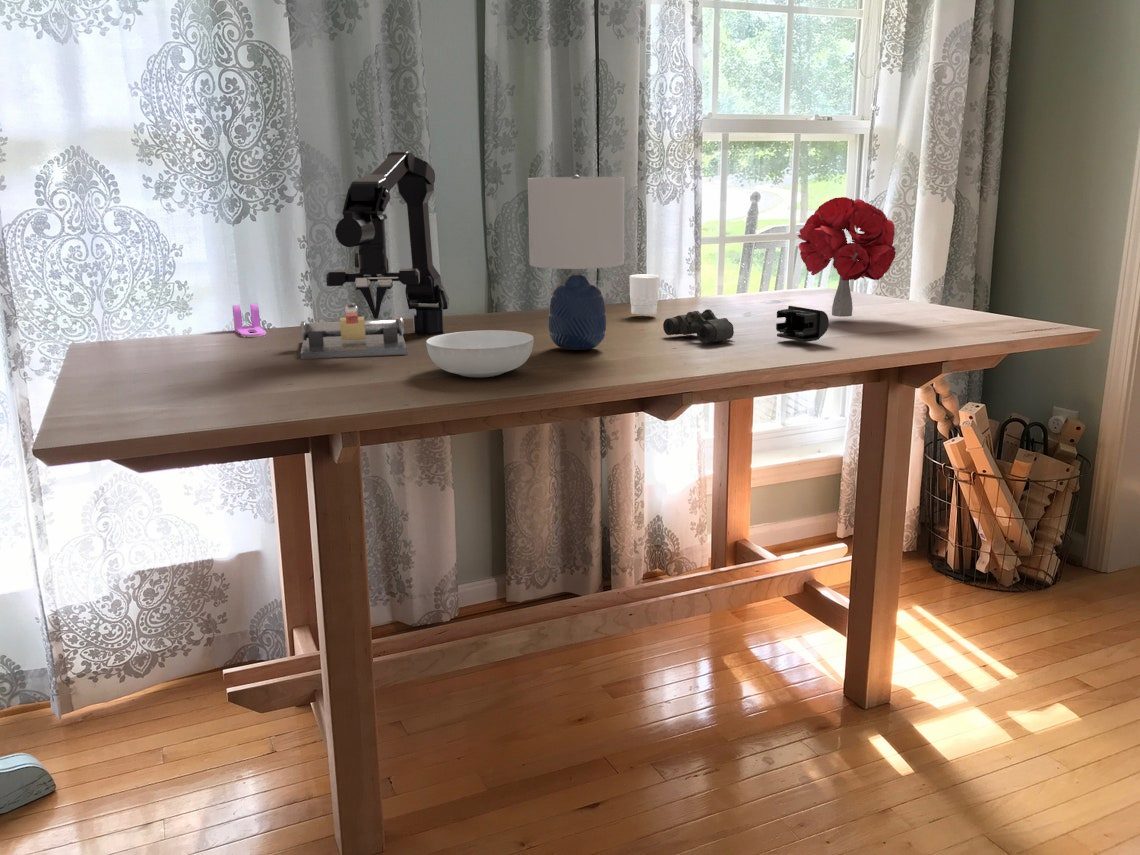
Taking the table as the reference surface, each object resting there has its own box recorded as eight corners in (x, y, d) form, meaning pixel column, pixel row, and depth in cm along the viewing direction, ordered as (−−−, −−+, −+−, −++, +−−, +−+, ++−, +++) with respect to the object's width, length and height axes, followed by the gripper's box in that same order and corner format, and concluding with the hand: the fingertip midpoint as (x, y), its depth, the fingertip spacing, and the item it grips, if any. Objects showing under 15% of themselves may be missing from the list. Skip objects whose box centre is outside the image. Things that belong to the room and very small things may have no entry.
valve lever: (345, 312, 213) (344, 303, 212) (357, 311, 214) (357, 302, 213) (345, 323, 198) (345, 314, 197) (358, 323, 198) (358, 313, 198)
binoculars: (697, 329, 235) (697, 304, 234) (744, 338, 223) (745, 311, 221) (662, 334, 229) (662, 308, 228) (708, 344, 217) (709, 316, 215)
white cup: (659, 315, 254) (660, 277, 252) (629, 315, 255) (629, 277, 252) (657, 311, 262) (657, 274, 259) (628, 311, 262) (628, 274, 260)
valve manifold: (401, 338, 226) (400, 304, 224) (407, 354, 207) (405, 317, 205) (304, 343, 221) (301, 308, 219) (301, 360, 203) (297, 322, 200)
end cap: (828, 339, 220) (830, 309, 218) (805, 342, 216) (807, 312, 214) (796, 333, 228) (797, 304, 226) (774, 336, 224) (775, 307, 223)
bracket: (234, 332, 237) (232, 304, 235) (258, 330, 239) (255, 302, 237) (244, 341, 226) (240, 311, 224) (268, 338, 228) (265, 309, 226)
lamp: (577, 335, 227) (576, 173, 217) (642, 346, 213) (644, 174, 203) (512, 347, 213) (507, 175, 203) (577, 360, 199) (575, 175, 189)
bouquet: (850, 306, 266) (857, 194, 258) (909, 319, 245) (919, 197, 237) (783, 311, 258) (789, 196, 250) (838, 325, 237) (846, 199, 229)
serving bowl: (527, 359, 201) (526, 327, 199) (541, 381, 181) (540, 345, 179) (426, 364, 197) (424, 331, 196) (429, 387, 178) (427, 350, 176)
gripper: (419, 239, 208) (422, 311, 212) (330, 241, 206) (336, 313, 210) (416, 243, 197) (420, 319, 201) (323, 245, 195) (329, 321, 200)
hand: (376, 318), depth 203 cm, fingers closed
